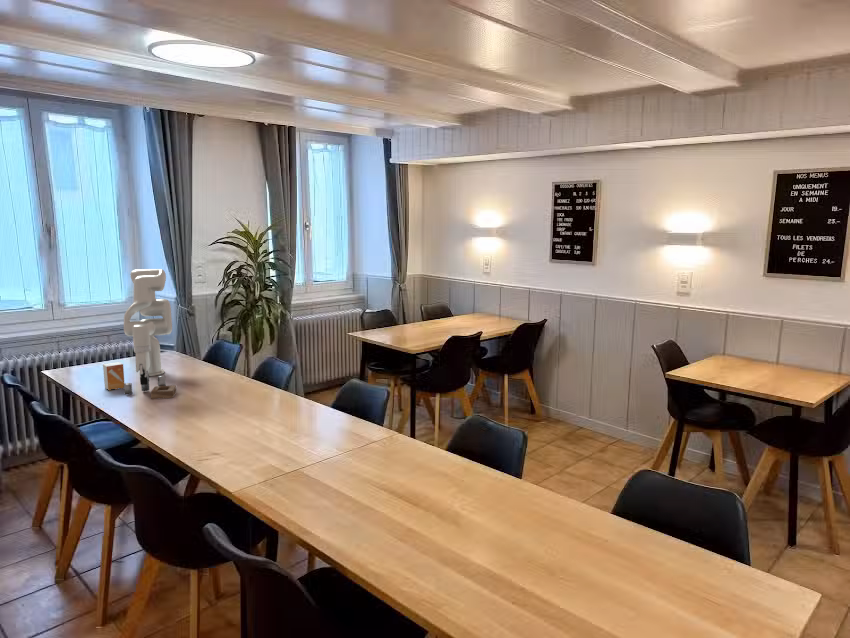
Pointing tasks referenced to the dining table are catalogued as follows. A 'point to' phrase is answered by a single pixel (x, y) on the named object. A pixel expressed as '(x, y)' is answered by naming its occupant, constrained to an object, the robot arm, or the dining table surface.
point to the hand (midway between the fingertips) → (145, 382)
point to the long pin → (146, 387)
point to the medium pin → (161, 381)
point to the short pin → (128, 388)
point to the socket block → (163, 392)
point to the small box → (113, 375)
